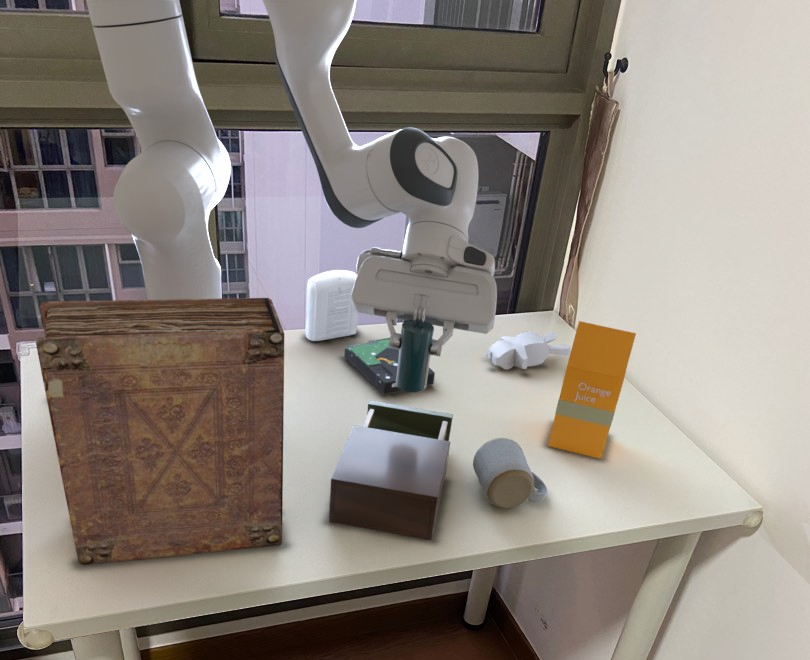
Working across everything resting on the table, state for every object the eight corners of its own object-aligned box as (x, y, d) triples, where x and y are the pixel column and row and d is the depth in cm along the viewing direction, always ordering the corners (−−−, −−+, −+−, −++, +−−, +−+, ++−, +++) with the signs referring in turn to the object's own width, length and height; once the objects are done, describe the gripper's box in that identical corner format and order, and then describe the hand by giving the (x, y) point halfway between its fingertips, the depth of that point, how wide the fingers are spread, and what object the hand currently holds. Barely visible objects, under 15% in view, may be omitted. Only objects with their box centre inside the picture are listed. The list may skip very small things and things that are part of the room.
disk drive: (434, 386, 148) (391, 349, 157) (436, 372, 146) (392, 335, 155) (384, 397, 143) (342, 358, 152) (385, 382, 141) (343, 344, 151)
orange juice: (555, 423, 142) (582, 311, 129) (607, 436, 140) (639, 323, 128) (547, 446, 136) (574, 331, 123) (601, 459, 134) (634, 344, 122)
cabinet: (350, 466, 126) (353, 424, 121) (444, 482, 125) (450, 441, 120) (328, 522, 115) (331, 478, 110) (431, 540, 114) (437, 497, 109)
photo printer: (348, 326, 163) (352, 263, 156) (360, 335, 161) (364, 272, 153) (301, 334, 158) (303, 270, 151) (312, 344, 156) (314, 279, 148)
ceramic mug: (483, 513, 120) (493, 468, 115) (468, 480, 126) (477, 436, 121) (552, 510, 122) (565, 467, 117) (534, 478, 128) (545, 435, 123)
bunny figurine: (480, 334, 157) (551, 319, 161) (479, 358, 160) (549, 343, 164) (503, 357, 150) (577, 341, 154) (501, 382, 154) (573, 366, 158)
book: (76, 566, 103) (32, 339, 84) (77, 520, 110) (37, 301, 91) (283, 545, 110) (284, 331, 91) (272, 503, 117) (271, 296, 98)
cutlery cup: (393, 389, 119) (402, 298, 110) (398, 375, 122) (408, 286, 114) (423, 394, 118) (435, 304, 110) (428, 380, 122) (440, 291, 114)
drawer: (372, 418, 136) (374, 387, 132) (451, 431, 135) (456, 401, 131) (349, 477, 122) (351, 444, 118) (437, 492, 121) (442, 460, 118)
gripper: (358, 234, 115) (338, 330, 114) (506, 258, 114) (487, 355, 113) (362, 255, 122) (344, 346, 120) (502, 278, 120) (485, 370, 119)
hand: (414, 351), depth 116 cm, fingers closed on cutlery cup, 4 cm apart
